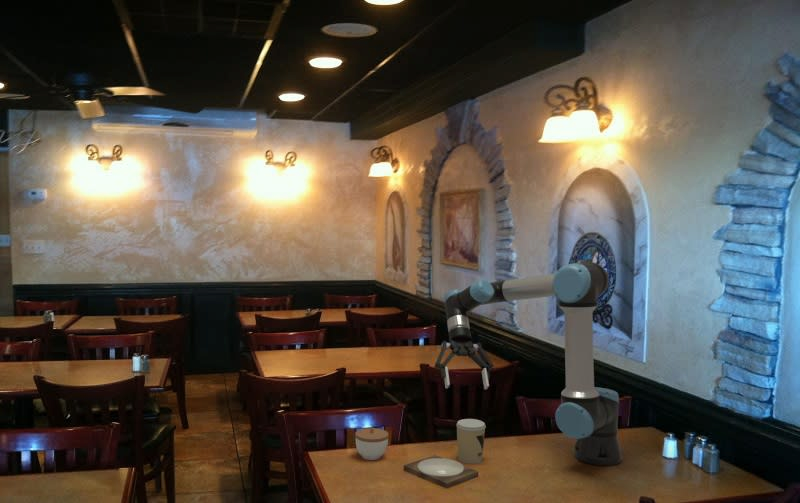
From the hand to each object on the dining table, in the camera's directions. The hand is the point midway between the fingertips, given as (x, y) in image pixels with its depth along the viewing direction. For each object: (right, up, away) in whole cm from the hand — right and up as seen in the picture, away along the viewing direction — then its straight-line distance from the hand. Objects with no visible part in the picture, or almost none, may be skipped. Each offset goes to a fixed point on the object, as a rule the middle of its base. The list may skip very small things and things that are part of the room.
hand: (467, 387), depth 231 cm
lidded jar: (-32, -22, -6) cm, 39 cm away
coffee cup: (0, -22, -6) cm, 23 cm away
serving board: (-10, -23, -18) cm, 31 cm away
